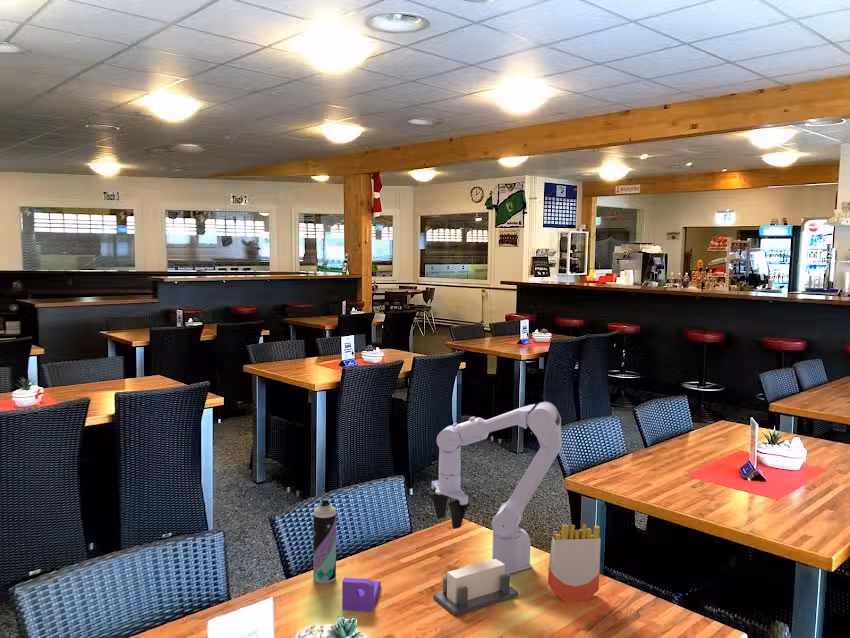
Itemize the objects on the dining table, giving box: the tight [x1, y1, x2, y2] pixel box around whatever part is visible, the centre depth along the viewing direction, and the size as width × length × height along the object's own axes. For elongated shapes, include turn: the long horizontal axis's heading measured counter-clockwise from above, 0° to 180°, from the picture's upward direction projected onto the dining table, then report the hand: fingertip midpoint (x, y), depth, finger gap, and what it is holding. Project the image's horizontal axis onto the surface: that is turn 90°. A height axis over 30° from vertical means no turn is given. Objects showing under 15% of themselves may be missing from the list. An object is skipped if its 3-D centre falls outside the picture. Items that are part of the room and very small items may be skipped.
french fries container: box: [547, 523, 602, 602], centre depth 157 cm, size 5×11×18 cm, turn 95°
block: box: [446, 559, 505, 604], centre depth 156 cm, size 14×4×6 cm, turn 121°
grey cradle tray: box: [432, 574, 520, 617], centre depth 156 cm, size 18×9×5 cm, turn 121°
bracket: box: [341, 577, 382, 613], centre depth 155 cm, size 12×7×7 cm, turn 175°
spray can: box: [312, 498, 337, 585], centre depth 163 cm, size 6×6×20 cm
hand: (448, 522), depth 176 cm, fingers open, 7 cm apart
